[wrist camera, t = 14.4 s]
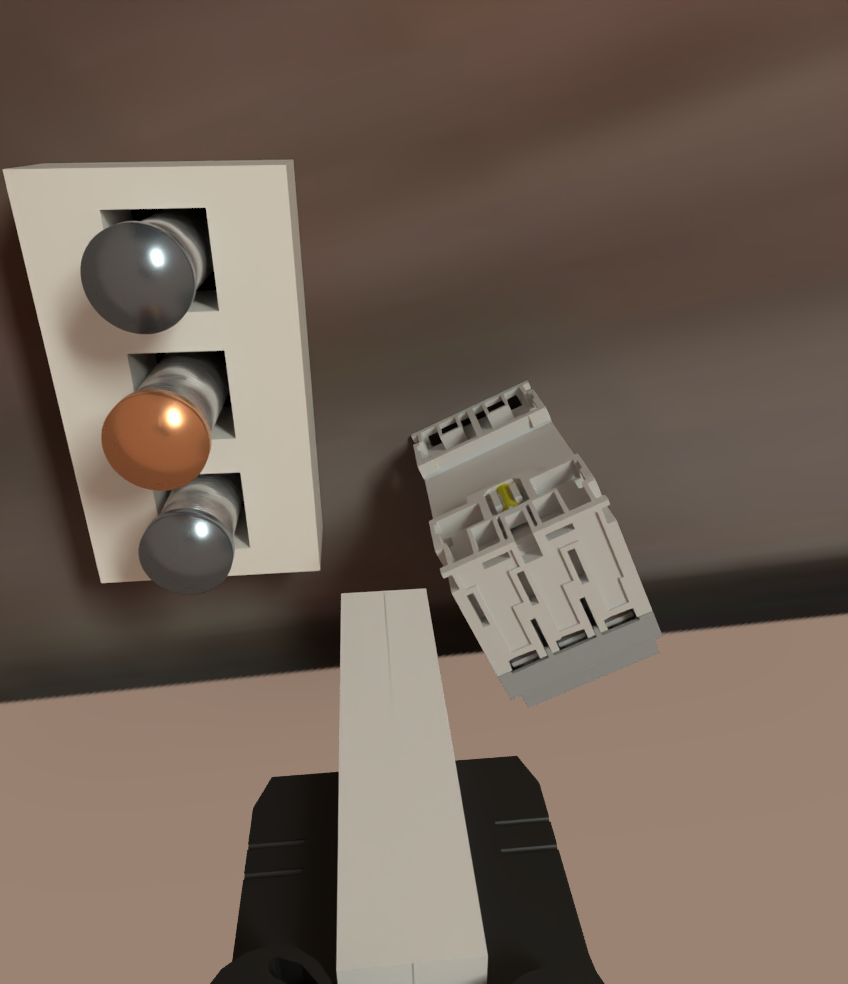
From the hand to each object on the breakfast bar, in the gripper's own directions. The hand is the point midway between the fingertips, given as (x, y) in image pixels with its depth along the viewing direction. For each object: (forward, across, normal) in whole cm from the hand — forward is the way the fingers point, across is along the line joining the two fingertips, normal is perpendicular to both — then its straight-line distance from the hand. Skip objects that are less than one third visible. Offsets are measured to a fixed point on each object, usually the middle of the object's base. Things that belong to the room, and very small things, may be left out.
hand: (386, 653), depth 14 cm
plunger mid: (+28, -9, -4) cm, 30 cm away
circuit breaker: (+31, +9, -13) cm, 34 cm away
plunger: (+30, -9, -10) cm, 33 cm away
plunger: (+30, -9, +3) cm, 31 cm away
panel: (+30, -9, -4) cm, 32 cm away
